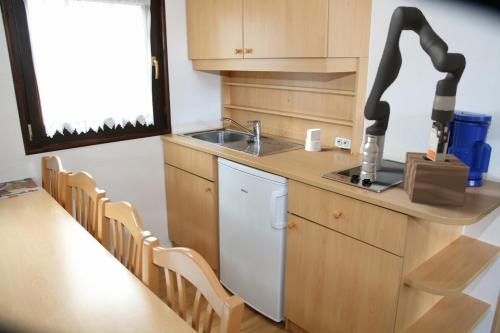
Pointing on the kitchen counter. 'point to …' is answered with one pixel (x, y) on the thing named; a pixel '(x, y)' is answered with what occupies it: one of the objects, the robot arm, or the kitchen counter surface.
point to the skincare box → (433, 145)
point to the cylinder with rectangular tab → (313, 140)
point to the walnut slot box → (435, 179)
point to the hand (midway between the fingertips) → (437, 150)
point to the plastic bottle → (370, 159)
